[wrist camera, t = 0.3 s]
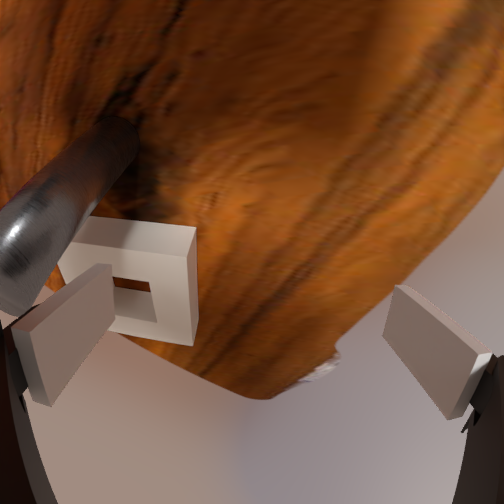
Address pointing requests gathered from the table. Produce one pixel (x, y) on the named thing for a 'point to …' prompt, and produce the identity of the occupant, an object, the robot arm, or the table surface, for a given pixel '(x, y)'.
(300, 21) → the table surface
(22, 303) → the peg
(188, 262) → the socket block
